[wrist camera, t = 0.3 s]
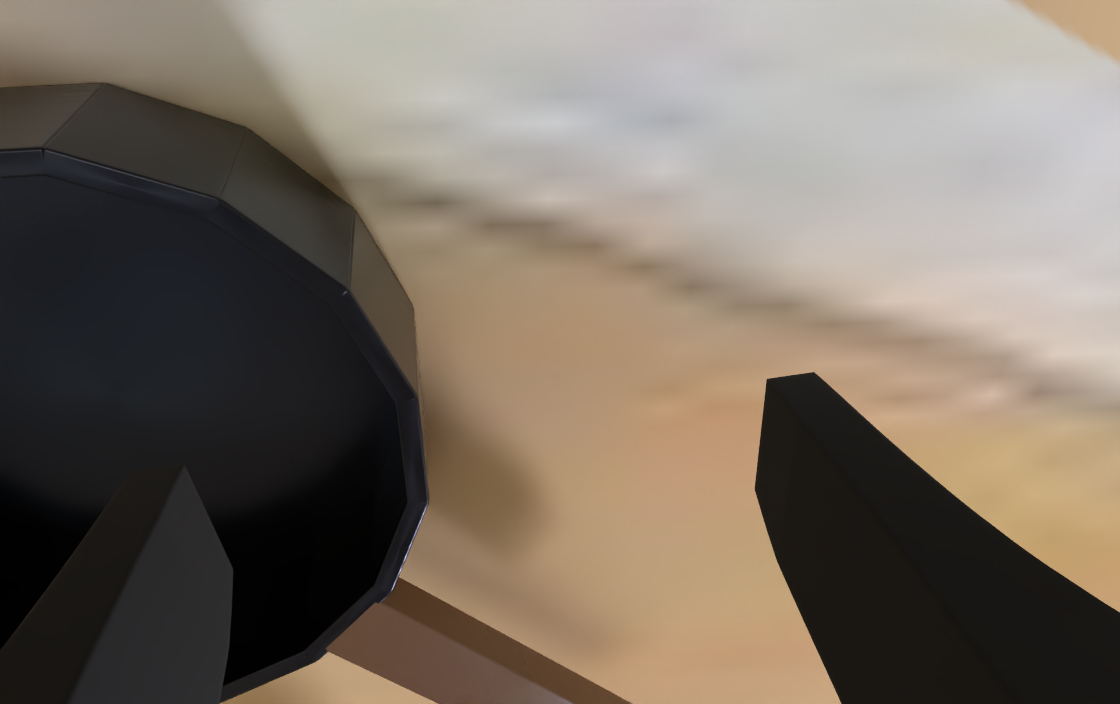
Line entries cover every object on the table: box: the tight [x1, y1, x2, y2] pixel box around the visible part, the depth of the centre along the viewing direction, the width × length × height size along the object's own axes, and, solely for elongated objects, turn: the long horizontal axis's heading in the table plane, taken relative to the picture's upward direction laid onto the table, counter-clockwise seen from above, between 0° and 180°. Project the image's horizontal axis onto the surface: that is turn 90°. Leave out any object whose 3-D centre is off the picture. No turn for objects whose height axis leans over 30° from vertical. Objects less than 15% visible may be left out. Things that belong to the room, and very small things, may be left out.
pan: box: [0, 83, 632, 704], centre depth 22 cm, size 14×24×4 cm, turn 45°
